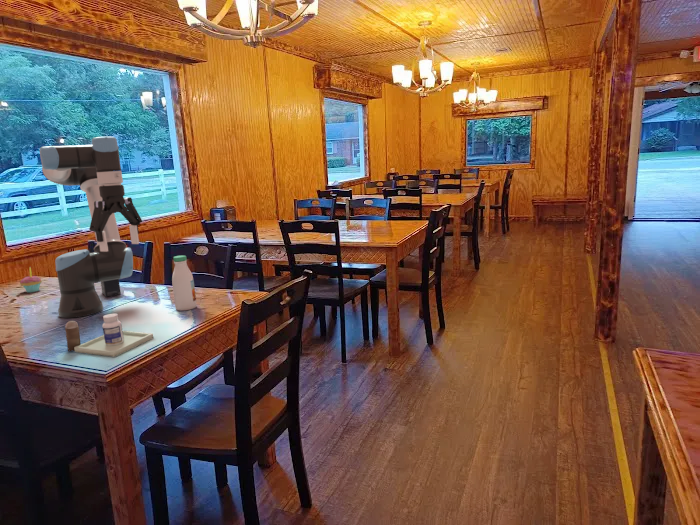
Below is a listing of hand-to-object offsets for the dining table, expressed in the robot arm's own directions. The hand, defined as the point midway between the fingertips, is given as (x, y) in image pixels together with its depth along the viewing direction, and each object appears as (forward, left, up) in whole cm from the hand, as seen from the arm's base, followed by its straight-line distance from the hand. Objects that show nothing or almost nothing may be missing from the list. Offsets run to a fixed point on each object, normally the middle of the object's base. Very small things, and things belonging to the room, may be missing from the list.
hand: (120, 247), depth 172 cm
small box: (-41, +30, -27) cm, 58 cm away
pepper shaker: (+3, -26, -27) cm, 37 cm away
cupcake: (-85, +26, -27) cm, 93 cm away
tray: (+13, -20, -27) cm, 36 cm away
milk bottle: (+9, +18, -27) cm, 34 cm away
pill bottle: (+13, -20, -26) cm, 35 cm away
